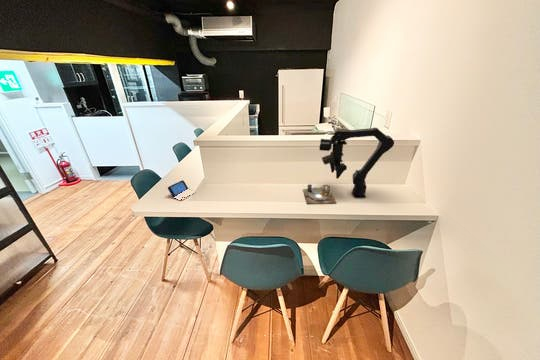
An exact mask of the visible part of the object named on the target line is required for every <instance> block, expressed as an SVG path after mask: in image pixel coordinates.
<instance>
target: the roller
mask: <svg viewBox="0 0 540 360" xmlns="http://www.w3.org/2000/svg"><path fill="white" fill-rule="evenodd" d="M322 187H323V190H322V194H323V195H329V189H330V190H331V188H330V187H331V186H330V185H328V184H323V185H322Z"/></svg>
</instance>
